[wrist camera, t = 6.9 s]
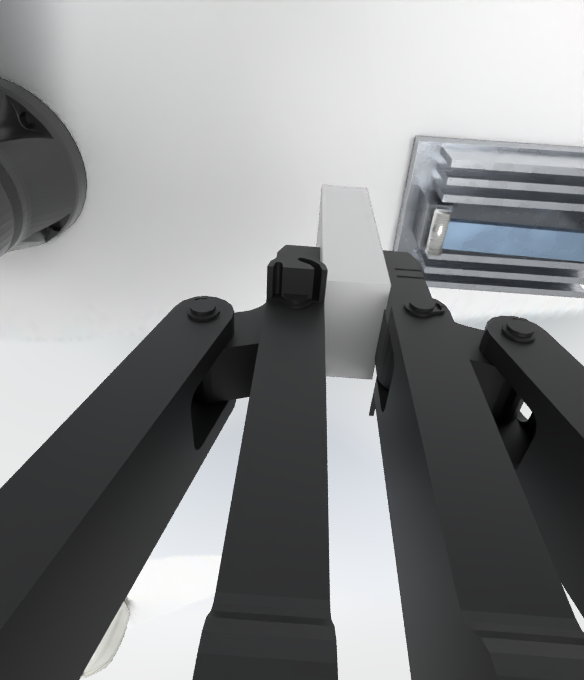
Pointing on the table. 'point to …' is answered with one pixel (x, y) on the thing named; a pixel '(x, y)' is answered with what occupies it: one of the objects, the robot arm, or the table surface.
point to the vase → (108, 643)
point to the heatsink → (493, 210)
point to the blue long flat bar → (503, 238)
